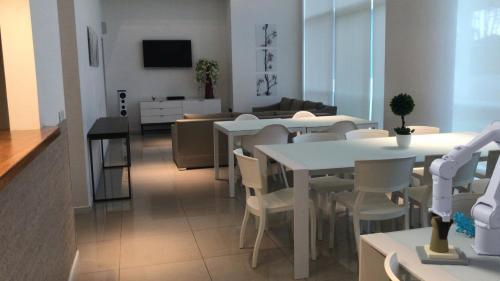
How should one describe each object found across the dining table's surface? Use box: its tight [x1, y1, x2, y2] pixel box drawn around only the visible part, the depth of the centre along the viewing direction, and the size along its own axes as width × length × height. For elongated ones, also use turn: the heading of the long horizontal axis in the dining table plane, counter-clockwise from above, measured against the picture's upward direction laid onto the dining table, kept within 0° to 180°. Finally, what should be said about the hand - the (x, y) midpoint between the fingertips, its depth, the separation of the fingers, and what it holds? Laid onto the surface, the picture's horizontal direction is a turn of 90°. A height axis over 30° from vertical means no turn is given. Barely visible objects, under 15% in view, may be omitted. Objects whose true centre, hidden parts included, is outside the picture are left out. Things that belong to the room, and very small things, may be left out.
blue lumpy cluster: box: [453, 211, 476, 237], centre depth 179 cm, size 11×6×10 cm
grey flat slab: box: [415, 244, 469, 266], centre depth 157 cm, size 14×12×2 cm
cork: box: [429, 217, 449, 253], centre depth 156 cm, size 6×6×11 cm
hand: (441, 236), depth 156 cm, fingers closed on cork, 5 cm apart
